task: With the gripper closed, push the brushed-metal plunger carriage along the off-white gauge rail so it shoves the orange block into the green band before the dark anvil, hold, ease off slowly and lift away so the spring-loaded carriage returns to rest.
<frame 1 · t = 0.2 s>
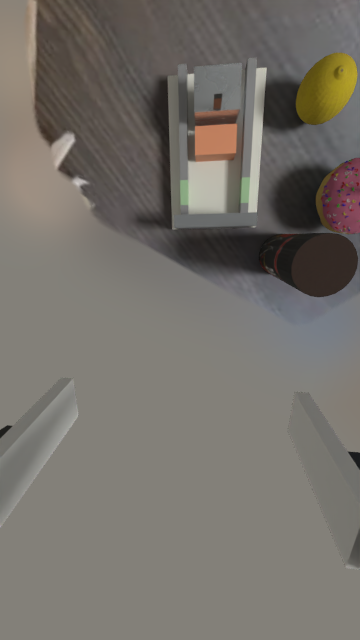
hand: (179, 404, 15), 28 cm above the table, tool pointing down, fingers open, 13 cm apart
cupcake: (335, 202, 35), on the table
orange block: (214, 147, 33), point 1 cm above the table, touching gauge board
gauge plunger: (216, 94, 28), point 5 cm above the table, slide at 0.0 cm
deodorant: (279, 254, 38), on the table
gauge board: (214, 159, 35), on the table
lemon: (309, 110, 32), on the table
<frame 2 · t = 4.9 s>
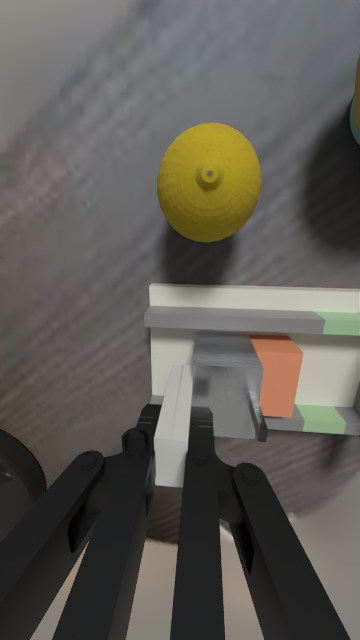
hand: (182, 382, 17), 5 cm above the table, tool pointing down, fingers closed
orange block: (264, 364, 20), point 1 cm above the table
gauge plunger: (223, 391, 16), point 5 cm above the table, slide at 1.6 cm, touching gripper
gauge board: (260, 357, 21), on the table
lemon: (206, 200, 18), on the table
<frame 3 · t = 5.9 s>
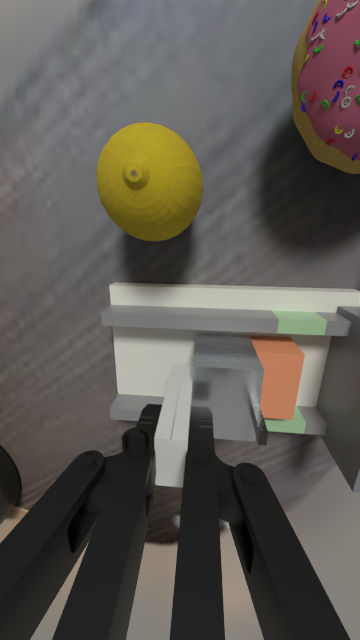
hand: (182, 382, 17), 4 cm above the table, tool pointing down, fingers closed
cupcake: (341, 109, 15), on the table
orange block: (265, 365, 20), point 1 cm above the table, touching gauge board, gauge plunger
gauge plunger: (223, 392, 16), point 5 cm above the table, slide at 4.6 cm, touching gripper, orange block
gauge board: (224, 356, 21), on the table
lemon: (164, 199, 18), on the table
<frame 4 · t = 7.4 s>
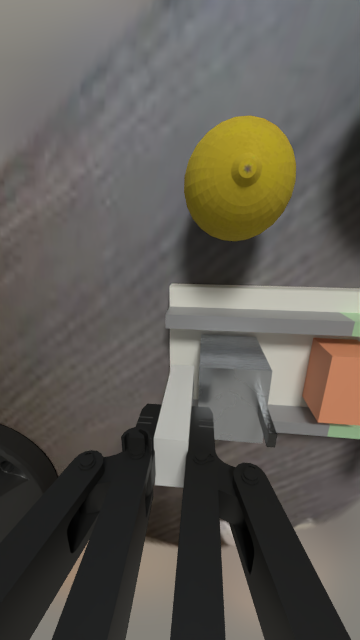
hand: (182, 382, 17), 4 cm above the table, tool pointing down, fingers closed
orange block: (328, 369, 19), point 1 cm above the table, touching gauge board
gauge plunger: (230, 393, 16), point 5 cm above the table, slide at 0.4 cm
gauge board: (281, 359, 21), on the table
lemon: (229, 197, 17), on the table
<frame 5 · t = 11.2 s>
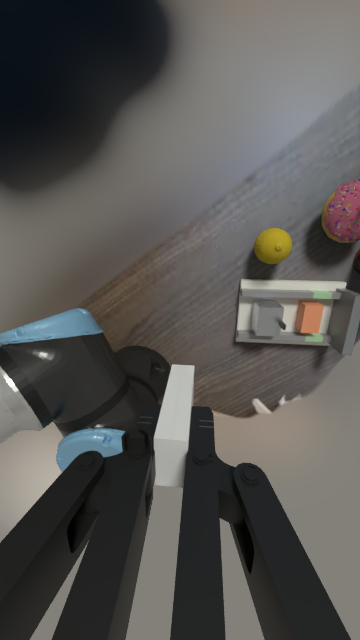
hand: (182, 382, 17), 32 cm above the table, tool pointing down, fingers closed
cupcake: (337, 214, 42), on the table
orange block: (305, 314, 46), point 1 cm above the table, touching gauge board
gauge plunger: (267, 319, 43), point 5 cm above the table, slide at 0.4 cm
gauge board: (286, 311, 48), on the table
lemon: (266, 245, 44), on the table
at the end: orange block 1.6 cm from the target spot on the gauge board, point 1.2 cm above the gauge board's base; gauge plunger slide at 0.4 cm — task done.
